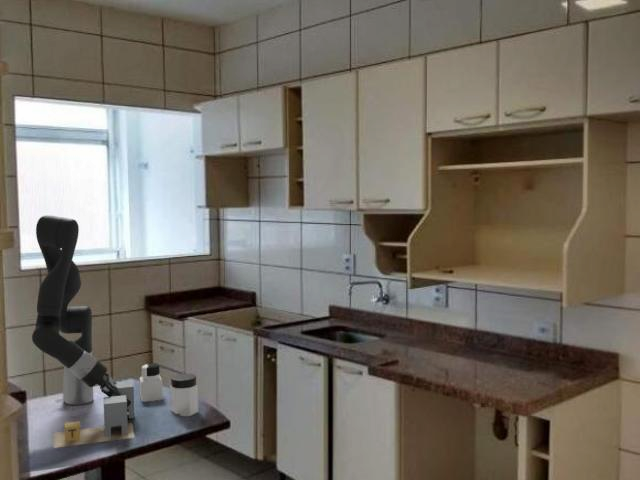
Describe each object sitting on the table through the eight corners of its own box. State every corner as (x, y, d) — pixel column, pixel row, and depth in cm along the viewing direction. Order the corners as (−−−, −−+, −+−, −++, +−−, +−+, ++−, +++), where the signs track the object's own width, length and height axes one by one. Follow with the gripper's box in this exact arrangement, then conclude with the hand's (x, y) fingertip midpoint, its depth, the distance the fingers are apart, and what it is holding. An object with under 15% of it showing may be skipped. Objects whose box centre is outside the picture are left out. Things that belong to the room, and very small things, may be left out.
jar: (199, 407, 213) (198, 372, 212) (196, 416, 205) (196, 380, 204) (172, 408, 212) (171, 373, 211) (168, 417, 204) (168, 380, 203)
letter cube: (65, 441, 182) (64, 427, 182) (65, 436, 186) (65, 422, 186) (79, 439, 184) (79, 426, 183) (80, 434, 187) (79, 421, 187)
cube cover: (113, 420, 197) (112, 388, 196) (112, 413, 203) (111, 382, 202) (134, 417, 199) (133, 386, 198) (133, 411, 205) (132, 380, 204)
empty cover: (104, 437, 185) (103, 404, 184) (104, 429, 191) (103, 397, 190) (127, 434, 187) (126, 401, 186) (126, 427, 193) (125, 395, 192)
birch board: (53, 451, 178) (53, 447, 178) (55, 435, 189) (55, 432, 189) (134, 440, 185) (134, 437, 185) (132, 426, 196) (132, 423, 196)
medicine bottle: (160, 394, 228) (159, 361, 227) (162, 400, 221) (162, 366, 220) (139, 396, 225) (139, 363, 225) (141, 402, 219) (141, 368, 218)
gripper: (96, 365, 190) (138, 399, 195) (96, 354, 204) (135, 386, 209) (78, 384, 189) (120, 418, 194) (79, 371, 202) (118, 403, 207)
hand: (128, 401), depth 201 cm, fingers closed on cube cover, 6 cm apart
